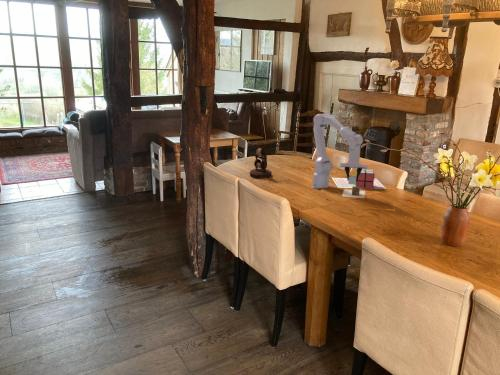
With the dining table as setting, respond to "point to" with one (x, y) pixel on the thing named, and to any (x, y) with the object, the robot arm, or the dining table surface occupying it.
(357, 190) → the walnut block
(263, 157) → the dark brown figurine
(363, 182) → the puzzle cube
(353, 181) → the gray block
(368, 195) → the dining table surface
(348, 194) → the board
